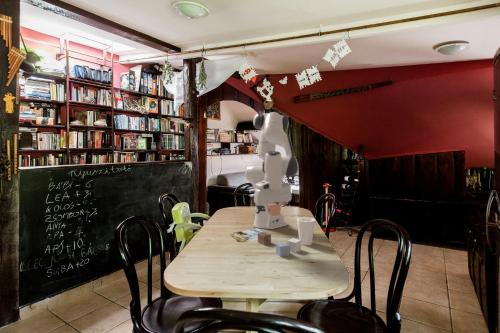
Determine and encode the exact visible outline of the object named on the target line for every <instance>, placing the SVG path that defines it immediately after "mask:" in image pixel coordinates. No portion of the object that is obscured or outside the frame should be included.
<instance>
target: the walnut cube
mask: <svg viewBox="0 0 500 333" xmlns="http://www.w3.org/2000/svg"><path fill="white" fill-rule="evenodd" d="M257 243H258V244H260V245H262V246H265V245H270V244H272V234H271V233H270V232H266V231H263V232H259V233H257Z"/></svg>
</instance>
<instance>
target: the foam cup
mask: <svg viewBox="0 0 500 333" xmlns="http://www.w3.org/2000/svg"><path fill="white" fill-rule="evenodd" d="M296 225H297V230H298V232H297V233H298V240H301V246H312V244H313V238H314V233H315V232H314V230H315V225H316V219H315V218H314V217H308V216H301V217H297V219H296Z"/></svg>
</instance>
